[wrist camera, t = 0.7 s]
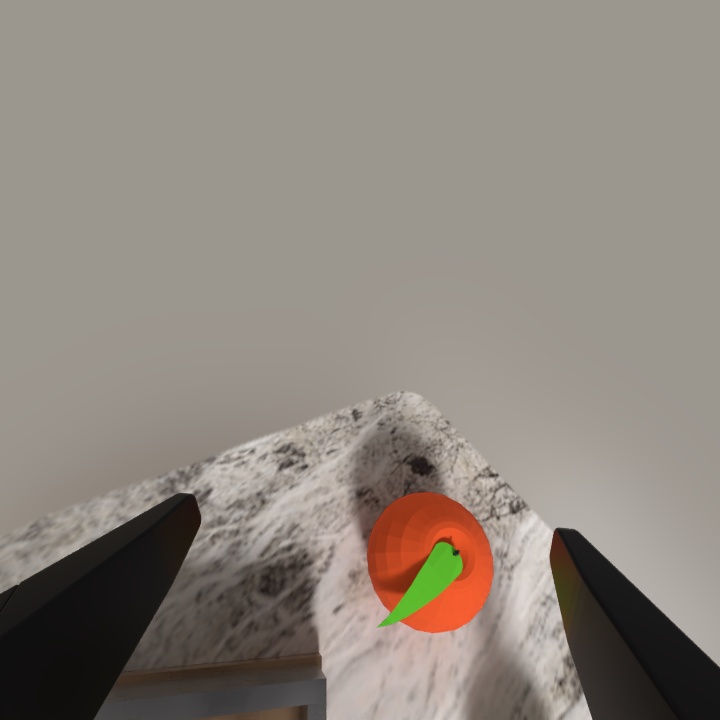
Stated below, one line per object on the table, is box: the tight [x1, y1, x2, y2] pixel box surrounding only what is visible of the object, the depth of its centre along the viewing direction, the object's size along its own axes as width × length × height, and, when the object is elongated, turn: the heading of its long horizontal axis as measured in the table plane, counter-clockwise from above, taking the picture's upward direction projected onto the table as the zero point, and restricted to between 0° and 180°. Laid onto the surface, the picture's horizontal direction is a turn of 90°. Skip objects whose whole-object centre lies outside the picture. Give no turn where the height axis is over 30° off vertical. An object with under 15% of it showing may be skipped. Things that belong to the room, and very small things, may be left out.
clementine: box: [367, 492, 493, 633], centre depth 20 cm, size 8×7×7 cm
